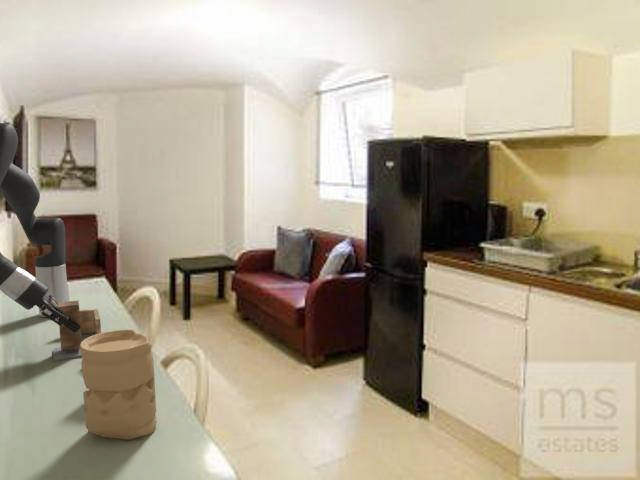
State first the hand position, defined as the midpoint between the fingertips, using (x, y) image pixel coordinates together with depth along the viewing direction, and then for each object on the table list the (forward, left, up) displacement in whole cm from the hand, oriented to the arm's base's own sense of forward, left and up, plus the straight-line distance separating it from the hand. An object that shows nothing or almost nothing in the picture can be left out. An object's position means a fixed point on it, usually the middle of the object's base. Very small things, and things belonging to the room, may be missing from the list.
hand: (77, 326), depth 140 cm
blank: (+1, -2, -5) cm, 6 cm away
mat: (+1, -1, -7) cm, 7 cm away
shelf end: (-11, -5, -7) cm, 14 cm away
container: (+41, +31, -7) cm, 52 cm away
